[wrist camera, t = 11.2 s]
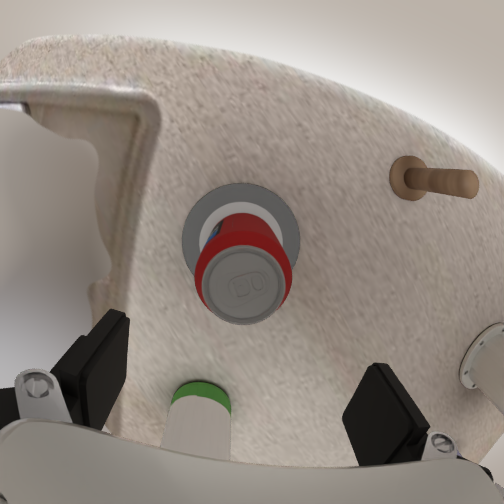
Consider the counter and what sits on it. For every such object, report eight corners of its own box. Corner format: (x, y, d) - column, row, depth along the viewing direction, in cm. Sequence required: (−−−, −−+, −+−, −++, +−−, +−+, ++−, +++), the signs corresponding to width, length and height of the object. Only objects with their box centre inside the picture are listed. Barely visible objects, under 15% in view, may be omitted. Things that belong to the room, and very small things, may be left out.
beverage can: (199, 223, 30) (174, 254, 19) (264, 202, 30) (280, 220, 18) (221, 284, 32) (212, 345, 20) (283, 265, 32) (307, 317, 20)
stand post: (420, 153, 30) (483, 151, 19) (428, 194, 31) (490, 207, 21) (385, 160, 30) (444, 158, 20) (394, 204, 31) (453, 220, 21)
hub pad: (282, 169, 30) (283, 169, 29) (309, 278, 33) (311, 281, 32) (168, 203, 31) (166, 204, 30) (204, 307, 34) (203, 311, 33)
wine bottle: (224, 424, 38) (220, 623, 9) (170, 412, 38) (129, 609, 9) (237, 385, 37) (242, 621, 8) (177, 371, 36) (124, 604, 7)
